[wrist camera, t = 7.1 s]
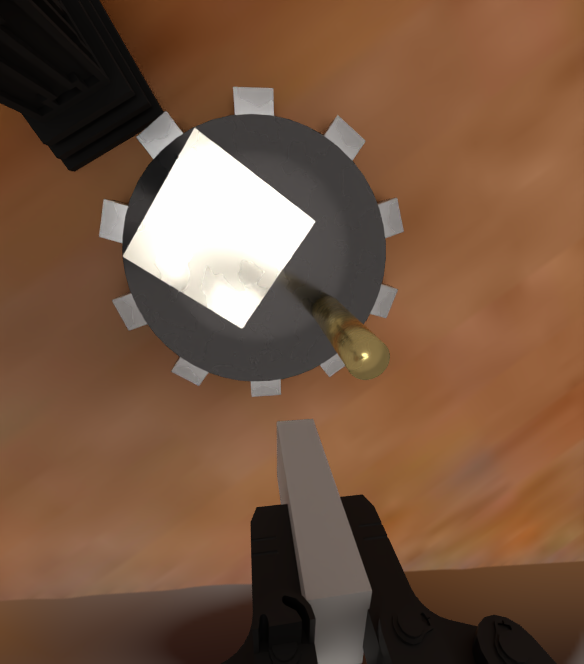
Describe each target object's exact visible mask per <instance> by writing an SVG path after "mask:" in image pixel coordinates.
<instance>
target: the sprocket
mask: <svg viewBox="0 0 584 664" xmlns="http://www.w3.org/2000/svg"><path fill="white" fill-rule="evenodd" d="M233 92H234V108H235V115H230V116H226V117H222V118H218V119H214V120H210V121H208V122H206V123H203V124H201V125H198V126H196V127H193V128H192V129H190V130H188V131H187V132H185V133H182V131H181V130H180V129H179V127H178V126H177V125H176V123H175V122H174V121H173V119H172V118H171V117H170V115H169V114H168V113H167V112H166V111H165V112H164V113H163V114H162V115H161V116H160V117H158V118H157V119H156V120H155V121H154V122H153V123H152V124H151V125H149V126H148V127H147V128H146V129H145V130H144V131H143V132H141V133H140V134H139V135H138V136H137V137H136V138H137V139H138V140H139V141H140V143H141V144H142V145H143V146H144V148H145V149H146V150H147V151H148V153H149V154H150V155H151V156H152V158H153V161H152V162H151V163H150V164H149V165H148V167H147V168H146V170H145V171H144V173H143V174H142V176H141V178H140V179H139V181H138V183H137V185H136V187H135V189H134V192H133V194H132V196H131V198H130V201H129V205H128V204H125V203H121V202H118V201H115V200H108V199H104V202H103V210H102V218H101V226H100V233H99V237H102V238H106V239H109V240H113V241H116V242H120V243H122V252H123V262H124V269H125V274H126V278H127V282H128V285H129V289H130V292H128V293H125V294H122V295H120V296H118V297H117V298H115V299H113V300H112V301H113V303H114V305H115V307H116V309H117V310H118V312H119V314H120V316H121V318H122V319H123V321H124V323H125V325H126V326H127V328H128V330H132V329H135V328H138V327H141V326H143V325H146V324H148V325H149V327H150V328H151V329H152V331H153V332H154V333H155V334H156V336H157V337H158V338H159V339H160V340H161V341H162V342H163V343H164V344H165V345H166V346H167V347H168V348H170V349H171V350H172V351H173V352H175V353H176V354H177V355H178V356H180V357H179V358H178V360H177V361H176V363H175V365H174V367H173V369H172V371H171V372H173V373H175V374H177V375H179V376H181V377H183V378H185V379H187V380H188V381H190V382H192V383H194V384H196V385H198V386H199V385H200V384H201V382H202V381H203V379H204V378H205V376H206V375H207V374H208V372H209V373H212V374H215V375H218V376H221V377H225V378H230V379H235V380H241V381H251V394H252V397H255V396H269V395H281V380H280V379H285V378H288V377H292V376H296V375H299V374H301V373H304V372H306V371H309V370H311V369H313V368H315V367H317V366H319V365H320V366H321V367H322V368H323V370H324V371H325V372H326V373H327V375H328V376H329V377H330V376H332V375H333V374H334V373H336V372H337V371H338V370H340V369H341V368H343V367H344V366H346V367H347V369H348V370H349V372H350V373H351V374H352V375H353V376H354V377H356V378H358V379H362V380H369V379H373V378H375V377H377V376H379V375H380V374H382V373H383V372H384V370H385V369H386V368H387V366H388V363H389V359H390V354H389V350H388V348H387V347H386V345H385V344H384V343H383V342H382V341H381V340H380V339H378V338H377V337H376V336H375V335H374V334H373V333H372V332H371V331H370V330H369V329H368V328H367V327H366V326H364V325H363V324H364V323H365V321H366V320H367V318H368V316H369V314H373V315H377V316H380V317H384V318H386V317H387V315H388V312H389V310H390V308H391V305H392V303H393V300H394V298H395V295H396V293H397V290H398V289H396V288H394V287H392V286H390V285H386V284H383V283H382V280H383V276H384V268H385V260H386V241H385V238H387V237H390V236H393V235H396V234H398V233H401V232H404V231H403V226H402V221H401V216H400V210H399V205H398V200H397V198H391V199H386V200H383V201H381V202H378V203H377V201H376V199H375V196H374V194H373V191H372V190H371V188H370V186H369V184H368V183H367V181H366V179H365V177H364V175H363V174H362V173H361V171H360V170H359V169H358V167H357V166H356V165H355V163H354V162H353V161H352V160H353V159H354V157H355V156H356V154H357V153H358V152H359V150H360V149H361V147H362V146H363V144H364V143H365V140H364V139H363V138H362V137H361V136H360V135H359V134H358V133H356V132H355V131H354V130H353V129H352V128H351V127H350V126H349V125H348V124H347V123H346V122H344V121H343V120H342V119H341V118H340V117H339V116H338V115H337V117H336V118H335V119H334V120H333V121H332V122H331V124H330V125H329V127H328V128H327V130H326V132H325V133H324V135H322V134H320V133H318V132H316V131H315V130H313V129H311V128H309V127H308V126H305V125H302V124H300V123H297V122H295V121H292V120H289V119H285V118H281V117H276V116H274V101H273V88H250V87H233Z"/></svg>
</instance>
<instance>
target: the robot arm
mask: <svg viewBox="0 0 584 664" xmlns="http://www.w3.org/2000/svg"><path fill="white" fill-rule="evenodd" d="M277 477H278V485H279V492H280V500H281V505H273V506H264V507H257V508H256V510H255V513H254V515H253V518H252V520H251V559H252V595H253V596H252V598H253V619H252V625H251V629H250V632H249V635H248V637H247V639H246V640H245V642H244V644H243V645H242V646H241V648H240V649H239V650H238V652H237V653H235V654H234V655H233V656H232V657H230V658H229V659H228V660H226V661H225V662H223V663H222V664H359V663H362V659H363V652H364V654H365V657H366V661H367V664H556V663H555V661H554V660H553V659H552V658H551V657H550V656H549V655H548V654H547V652H546V651H545V650H544V649H543V648H542V647H541V646H540V645H539V644H538V642H537V641H536V640H535V639H534V638H533V637H532V636H531V635H530V634H529V633H528V632H527V631H526V630H524V629H523V628H522V627H521V626H520V625H518V624H517V623H515V622H513V621H511V620H510V619H508V618H506V617H501V616H497V615H492V616H487V617H484V618H483V620H482V621H481V622H480V623H479V624H478V626H473V625H469V624H465V623H460V622H456V621H452V620H448V619H445V618H442V617H440V616H438V615H436V614H434V613H433V612H431V611H430V610H429V609H428V608H426V607H425V606H424V605H423V604H422V603H421V602H420V601H419V599H418V598H417V597H416V596H415V594H414V592H413V591H412V589H411V587H410V585H409V582H408V580H407V578H406V576H405V574H404V571H403V569H402V567H401V565H400V563H399V560H398V558H397V556H396V554H395V551H394V549H393V547H392V545H391V543H390V540H389V538H387V534H386V532H385V529H384V527H383V525H382V524H381V520H380V518H379V516H378V514H377V512H376V509H375V507H374V506H373V505H372V504H371V503H370V502H369V501H368V500H367V499H366V498H365V497H364V496H363V495H354V496H345V497H340V496H339V493H338V490H337V487H336V484H335V481H334V479H333V476H332V473H331V470H330V467H329V464H328V461H327V458H326V455H325V452H324V450H323V447H322V444H321V441H320V438H319V435H318V432H317V429H316V426H315V423H314V421H313V419H305V420H291V421H278V422H277Z"/></svg>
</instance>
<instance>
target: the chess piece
mask: <svg viewBox="0 0 584 664" xmlns="http://www.w3.org/2000/svg"><path fill="white" fill-rule="evenodd" d="M0 103H1V104H3V105H5V106H7V107H10V108H12V109H14V110H16V111H18V112H20V113H22V115H23V116H24V118H25V119H26V120H27V122H28V123H29V124H30V126H31V127H32V129H33V130H34V131H35V133H36V134H37V136H38V137H39V138H40V140H41V141H42V142H43V144H46V145H48V146H49V148H50V149H51V150H52V152H53V153H54V155H55V156H56V157H57V158H59V159H61V160H62V162H63V163H64V164H65V166H66V167H67V169H68V170H70V171H76V170H78V169H79V168H81V167H83V166H84V165H86V164H88V163H89V162H91V161H93V160H94V159H96V158H98V157H99V156H101V155H103V154H104V153H106V152H108V151H109V150H111V149H113V148H114V147H116V146H118V145H119V144H121V143H123V142H124V141H126V140H128V139H129V138H131V137H133V136H134V135H136V134H138V133H139V132H141V131H143V130H144V129H146V128H147V127H148V126H149V125H151V124H152V123H153V122H154V121H155V120H156V119H157V118H158V117H160V116H161V115H162V114H163V113H164V112H163V110H162V109H161V107H160V105H159V103H158V102H157V100H156V98H155V96H154V95H153V93H152V91H151V89H150V88H149V86H148V84H147V82H146V81H145V79H144V77H143V75H142V74H141V72H140V70H139V69H138V67H137V65H136V63H135V62H134V60H133V58H132V56H131V55H130V53H129V51H128V49H127V48H126V46H125V44H124V42H123V41H122V39H121V37H120V35H119V34H118V32H117V30H116V29H115V27H114V25H113V23H112V22H111V20H110V18H109V16H108V15H107V13H106V11H105V9H104V8H103V6H102V4H101V2H100V1H99V0H0Z"/></svg>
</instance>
